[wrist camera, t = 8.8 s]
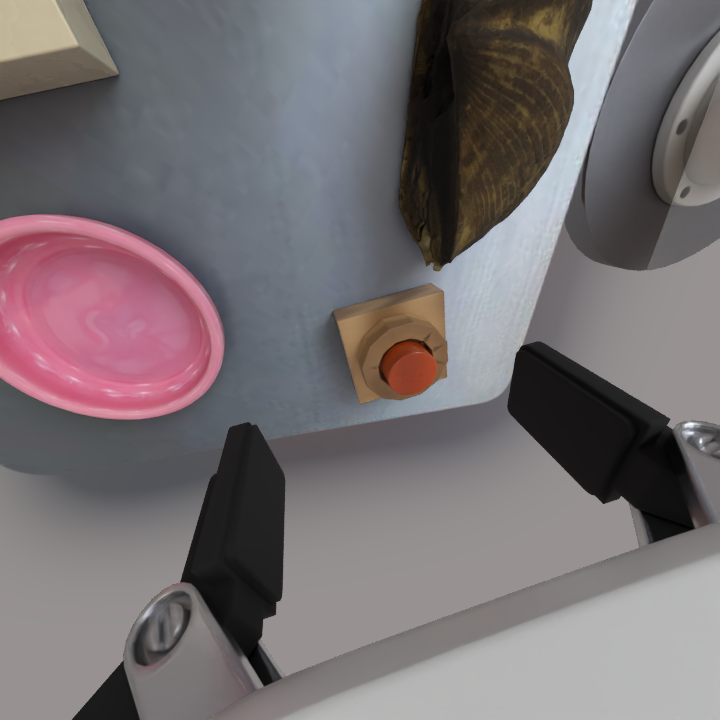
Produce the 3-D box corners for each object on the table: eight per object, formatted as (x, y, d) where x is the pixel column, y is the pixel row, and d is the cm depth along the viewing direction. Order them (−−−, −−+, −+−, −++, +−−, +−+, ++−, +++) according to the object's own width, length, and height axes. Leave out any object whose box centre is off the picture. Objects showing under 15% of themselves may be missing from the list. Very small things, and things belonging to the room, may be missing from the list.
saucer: (-37, 176, 13) (-119, 171, 11) (238, 248, 17) (229, 257, 15) (28, 383, 19) (-15, 414, 16) (225, 400, 23) (217, 427, 20)
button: (425, 334, 19) (436, 345, 18) (428, 373, 21) (438, 387, 20) (377, 348, 19) (384, 361, 18) (385, 387, 21) (392, 401, 20)
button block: (430, 282, 21) (456, 299, 18) (435, 364, 26) (457, 389, 22) (332, 310, 21) (340, 332, 17) (355, 389, 25) (364, 418, 22)
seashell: (399, -176, 11) (595, -560, 5) (544, -75, 14) (752, -244, 9) (373, 261, 19) (439, 287, 13) (469, 256, 22) (552, 275, 17)
